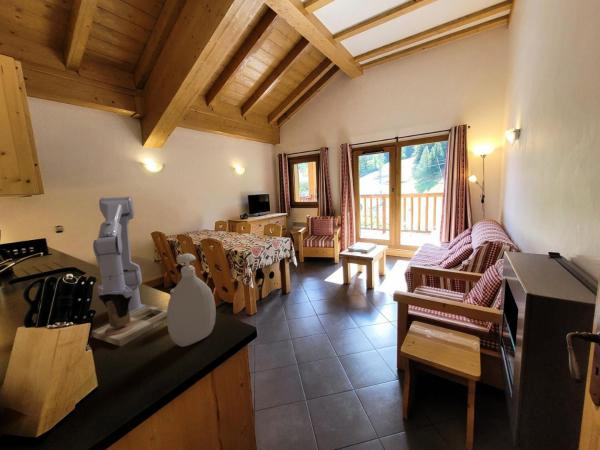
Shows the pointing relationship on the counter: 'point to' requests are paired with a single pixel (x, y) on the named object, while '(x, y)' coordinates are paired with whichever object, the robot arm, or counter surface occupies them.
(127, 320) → the walnut block
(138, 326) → the holder board
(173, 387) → the counter surface
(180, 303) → the soap bottle
